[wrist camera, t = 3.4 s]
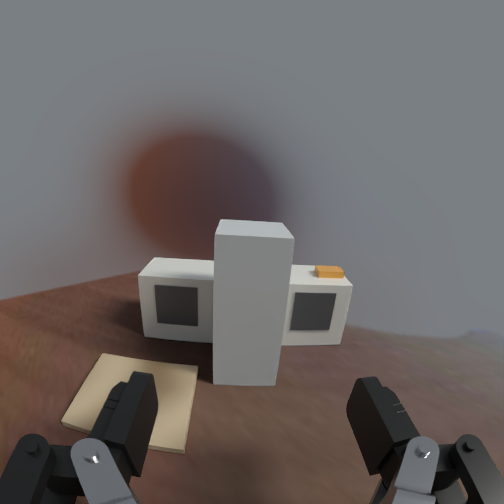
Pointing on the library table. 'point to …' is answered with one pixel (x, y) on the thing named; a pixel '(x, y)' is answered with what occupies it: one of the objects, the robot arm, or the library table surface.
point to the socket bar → (201, 302)
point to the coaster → (168, 392)
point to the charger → (249, 300)
